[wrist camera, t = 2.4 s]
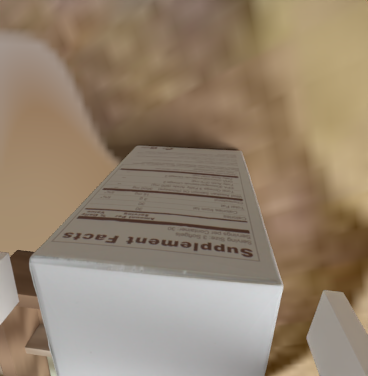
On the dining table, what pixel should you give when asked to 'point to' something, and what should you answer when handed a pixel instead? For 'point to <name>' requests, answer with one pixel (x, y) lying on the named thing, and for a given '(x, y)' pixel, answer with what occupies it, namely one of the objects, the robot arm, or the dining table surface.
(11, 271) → the robot arm
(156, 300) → the supplement box
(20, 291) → the crate
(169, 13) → the dining table surface
